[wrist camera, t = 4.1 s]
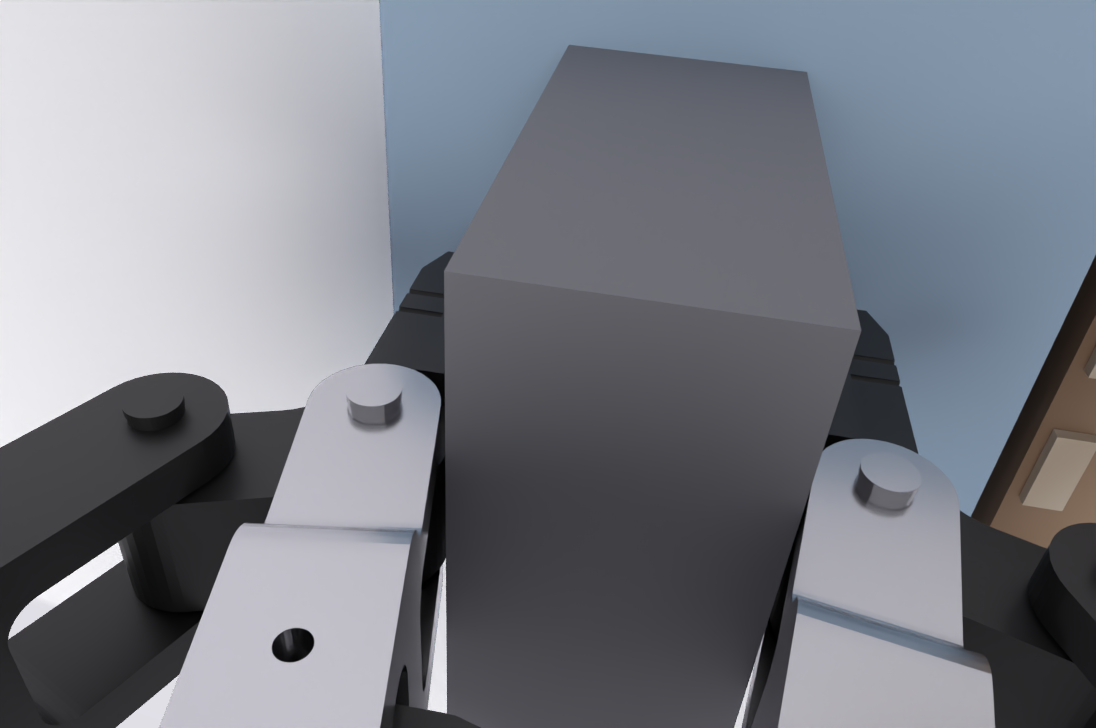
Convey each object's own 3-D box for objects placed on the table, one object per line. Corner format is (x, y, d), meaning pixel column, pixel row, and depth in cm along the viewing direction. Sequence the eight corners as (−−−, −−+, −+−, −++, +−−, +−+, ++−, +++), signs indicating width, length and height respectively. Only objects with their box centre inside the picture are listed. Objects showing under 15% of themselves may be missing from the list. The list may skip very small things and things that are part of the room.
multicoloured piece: (1227, -192, 10) (1987, -86, 4) (913, 535, 17) (1012, 984, 11) (411, -257, 11) (11, -252, 5) (428, 455, 18) (268, 825, 12)
